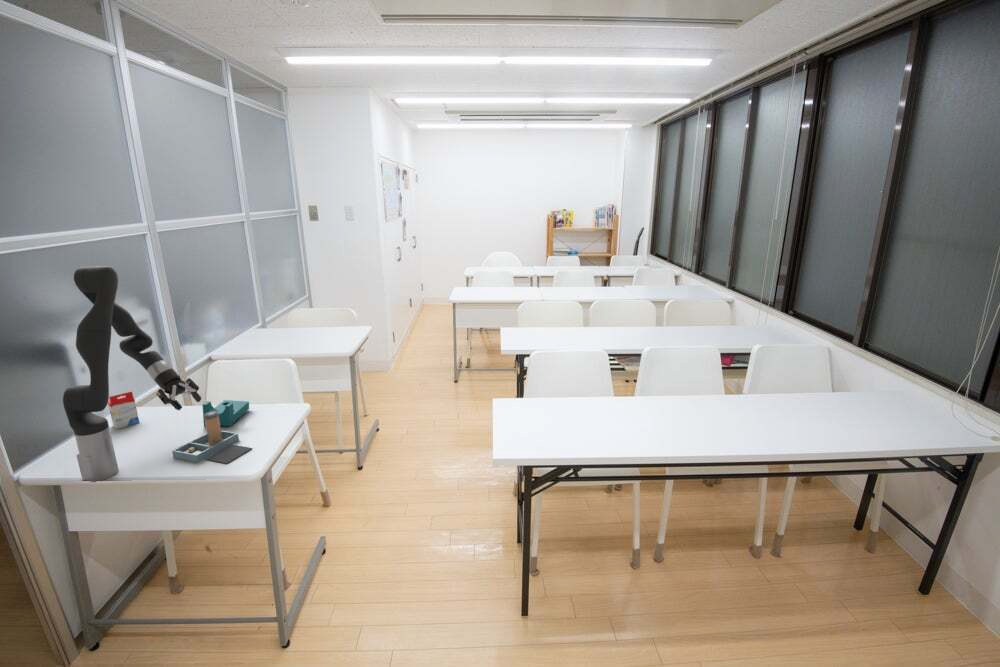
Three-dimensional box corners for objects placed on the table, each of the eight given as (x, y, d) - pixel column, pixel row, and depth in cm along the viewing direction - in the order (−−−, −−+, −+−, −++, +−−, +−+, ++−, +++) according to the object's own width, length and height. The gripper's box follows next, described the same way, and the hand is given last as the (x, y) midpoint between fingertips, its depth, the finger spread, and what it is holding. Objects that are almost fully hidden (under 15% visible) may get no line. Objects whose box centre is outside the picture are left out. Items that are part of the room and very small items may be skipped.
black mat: (226, 464, 179) (226, 463, 179) (205, 460, 182) (205, 458, 182) (252, 449, 190) (252, 448, 190) (231, 445, 193) (231, 444, 193)
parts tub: (197, 462, 180) (196, 455, 179) (173, 457, 183) (171, 450, 183) (239, 440, 197) (237, 433, 197) (215, 435, 201) (214, 429, 200)
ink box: (136, 419, 216) (130, 388, 212) (139, 422, 213) (133, 391, 209) (112, 426, 210) (105, 394, 206) (115, 429, 207) (108, 397, 203)
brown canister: (215, 447, 191) (210, 417, 188) (205, 445, 192) (200, 415, 189) (226, 442, 196) (221, 412, 192) (216, 440, 197) (211, 410, 194)
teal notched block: (230, 428, 209) (228, 406, 206) (203, 427, 208) (202, 404, 205) (249, 411, 226) (248, 390, 223) (225, 410, 225) (224, 388, 223)
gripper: (149, 374, 185) (177, 406, 185) (183, 363, 199) (209, 392, 198) (142, 386, 188) (169, 417, 188) (175, 374, 201) (201, 403, 201)
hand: (190, 404), depth 193 cm, fingers open, 8 cm apart
